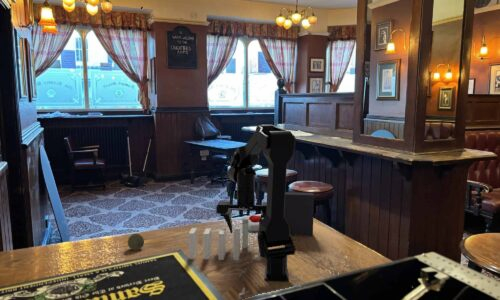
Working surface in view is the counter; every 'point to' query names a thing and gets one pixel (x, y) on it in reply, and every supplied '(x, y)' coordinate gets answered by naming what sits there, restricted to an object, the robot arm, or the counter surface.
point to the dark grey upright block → (299, 213)
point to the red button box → (253, 222)
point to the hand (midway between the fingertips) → (245, 233)
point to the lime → (135, 241)
